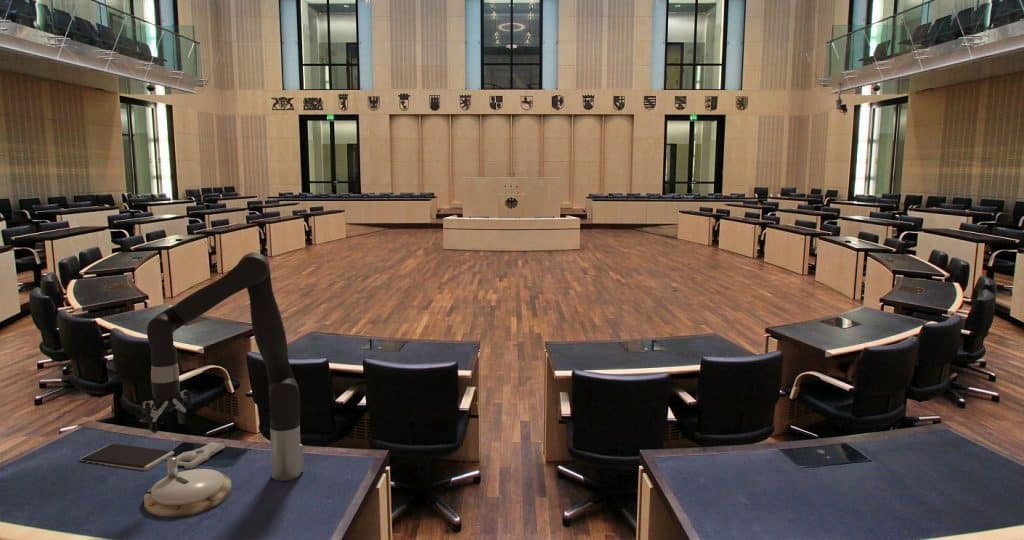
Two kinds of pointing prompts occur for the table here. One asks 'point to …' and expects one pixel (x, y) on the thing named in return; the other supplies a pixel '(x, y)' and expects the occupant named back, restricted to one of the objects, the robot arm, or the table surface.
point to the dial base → (188, 508)
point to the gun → (198, 455)
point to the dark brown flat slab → (128, 456)
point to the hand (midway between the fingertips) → (168, 427)
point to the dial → (186, 485)
